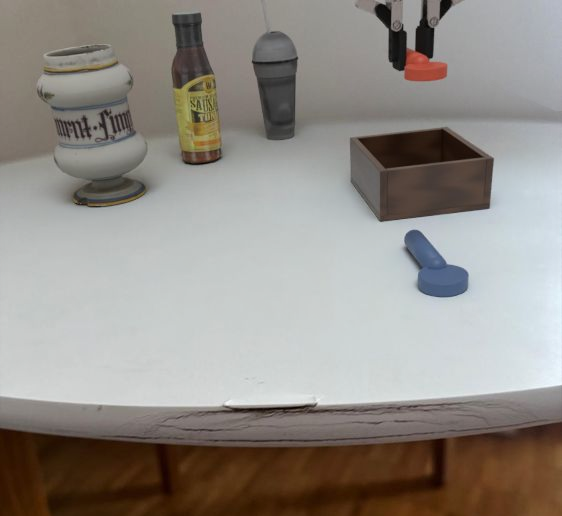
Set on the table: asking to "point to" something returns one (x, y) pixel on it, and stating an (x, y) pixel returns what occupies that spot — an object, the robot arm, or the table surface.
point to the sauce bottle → (194, 92)
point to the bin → (420, 173)
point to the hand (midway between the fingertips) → (410, 66)
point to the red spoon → (423, 68)
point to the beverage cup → (276, 81)
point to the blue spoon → (435, 268)
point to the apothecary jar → (93, 122)
